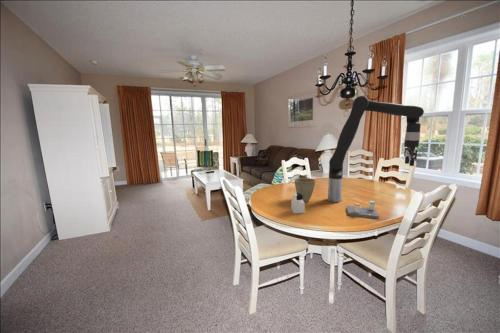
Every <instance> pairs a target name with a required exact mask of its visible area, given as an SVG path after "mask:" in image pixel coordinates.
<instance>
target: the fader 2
mask: <svg viewBox="0 0 500 333" xmlns="http://www.w3.org/2000/svg"><path fill="white" fill-rule="evenodd" d="M375 202H376V201H375V200H369V204H368V205H369V206H368V208H369V209H370V210H374V208H375V207H376V206H375V205H376V203H375Z"/></svg>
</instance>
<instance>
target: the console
mask: <svg viewBox="0 0 500 333" xmlns="http://www.w3.org/2000/svg"><path fill="white" fill-rule="evenodd" d="M354 209H355V205H354V206H352V205H346V211H347V216H351V217H359V218H360V217H361V218H367V219H368V218H369V219H376V220H377V219H379V218H380V216H379V213H378V212H377V209H376V208H375V207H374V210H370V209H369V207H365V206H364V207H363V206H360V207H359V213H357V212H355V211H354Z"/></svg>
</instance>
